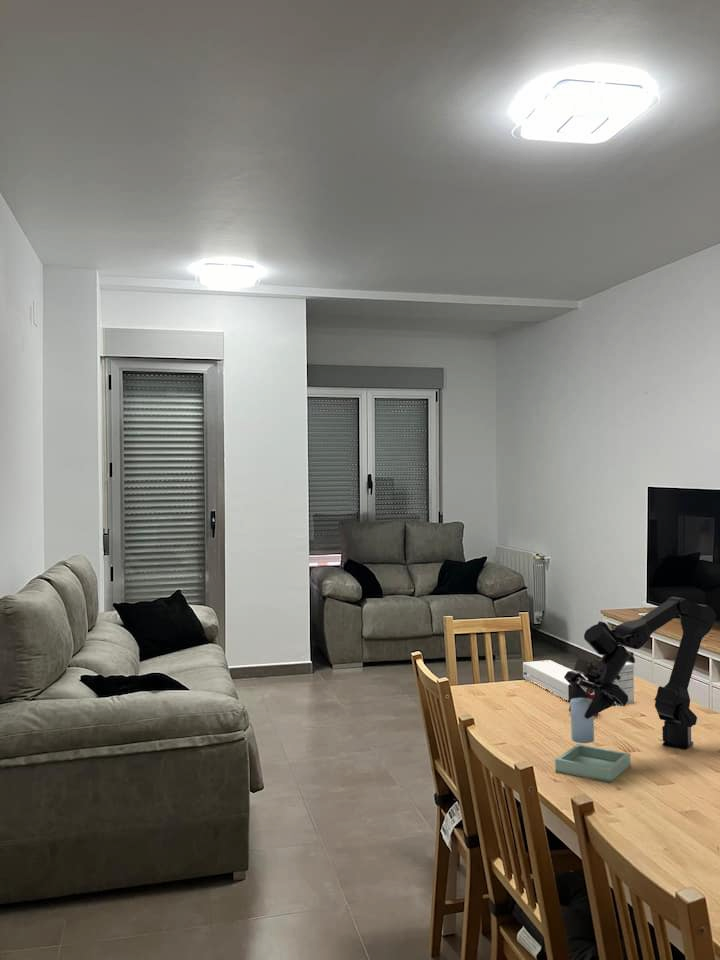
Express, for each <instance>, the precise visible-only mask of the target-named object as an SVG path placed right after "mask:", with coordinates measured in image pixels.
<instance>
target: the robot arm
mask: <svg viewBox="0 0 720 960" xmlns="http://www.w3.org/2000/svg"><path fill="white" fill-rule="evenodd" d="M678 616H679V617H680V625H681V629H682V636H681V639H680V642H679V646H678V649H677V653H676V657H675V660H674V664H673V667H672V669H671V674H670V677H669V681H668V682H667V684H666V685H664V686H661V685H659V687H657V692H656V696H655V697H654V700H653V701H655V702H654V707H655V709H656V712H657V715H658V717H659V720H662V721H663V722H664V723H663V724H664V725H662V727H661V728H662V746H663V747H664V746H665V747H668V748H676V749H681V750H688V749H690V748H691V746H692V745H694V741H692V727H693V726H696V724H697V720H698V716H697V715H696V714H695V713H694V712H693V711H692V710H691V708H690V705H691V704H690V703H691V698H690V694H689V690H688V689H689V686H690V681H691V678H692V675H693V671H694V668H695V664H696V660H697V657H698V653H699V650H700V646H701V643H702V641H703V638H704V637H705V636H707V634H709V632H711V630H712V628H713V626H714V623H715V621H716V616H717V614H716V613H715V610H714V609H713V607H712V606H710V605H707V604H700V603H699V604H698V603H695V602H693V601H690V600H687V599H686V598H683V597H677V596H671V597H668V598H667V599H666V600H665V602H662V603H661V604H659V605H658V606H657V607H655V608H653V610H650V611H649V612H647V613H646V614H644V615H642V616H641V617H640V618H637V619H634V620H627V621H625V622H623V623H620V624H618V625H617V626H616V627H615V628H614V629H610V628H609V625H608V624H607V623H606V622H605V621H598V623H597V624H593V625H591V626H590V627H589V628H587V629H586V630H585V632H584V634H583V635H584V636H583V638H584V640H585V641H586V643H587V644H588V645H589V646H590V647H591V648H592V649H593V650H594V651H595V652H596V654H597V655H599V656H602V657H601V658H600V660H598V659H593V661H589V660H586V659H582V658H578V657H577V658H576V660H575V665H574V667H573V671H568V672H567V673H566V675H565V676H564V678H565V679H566V680H567V681H568V682H569V683H570V684H571V685H572V688H573V694H572V699H573V698H589V697H590V696H589V695H588V694H587V693H586V692H587V691H588V690H589V689H591V690H594V691H595V697H594V699H593V701H592V703H591V704H590V706H589V708H588V710H587V711H586V713H585V718H586V719H588V718H590V717H592V716H594V715H596V714H597V713H598V714H599V713H601V712H603V711H604V710H606V709H609V708H611V707H615V706H621V707H624V708H625V707H626V705H627V704H628V703H627V702H628V695H627V694H626V693H625V692H624V691H623V690H622V689H621V688H620V687H619V686H618V685H616V684H613V682H614V681H615V680H620V678H621V677H620V676H619V675H618V674H619V673H620V671H621V670H622V668H623V667H624V665H625V664H626V662H628V663H632V664H635V663H636V659H635V656H634V654H635V653H634V652H633V651H629V650H627V648H630V649H633V650H640V649H641V648H643V647H644V646H645V645H646V644H647V643H648V642H650V638H651V636H652V634H653V633H654V632H657V630H658V629H660V628H661V627H664V626H665V625H666V624H668V623H670V622H671V621H672V620H674V619H675V618H678ZM574 671H576V672H574ZM577 672H578V673H577ZM580 672H581V673H580ZM582 673H583V674H582ZM581 674H582V675H584V676H585V677H586V678H587V679H588V681H587V680H586V679H585V678H584V677H583V676H582V675H581ZM615 701H616V704H618V705H616V704H615V703H614V702H615ZM568 711H569V712H570V713H571V706H570V705H569V707H568Z"/></svg>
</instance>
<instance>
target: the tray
mask: <svg viewBox="0 0 720 960" xmlns="http://www.w3.org/2000/svg"><path fill="white" fill-rule="evenodd" d="M554 764H555V772H559V773H564V774H567V775H573V776H577V777H581V776H582V778H587V779H591V780H592V779H593V780H594V781H595V780H597V781H600V782H604V783H605V782H606V783H611V782H612V781H614V780H615V779H616V778H617V777H619V776H620V775H621V774H622V773H623V772H625V771H626V770H627V769H628V768H630V767H631V753H628V752H622V751H618V750H610V749H608V748H607V749H606V748H603V747H602V748H601V747H597V746H596V747H595V746H591V745H584V744H582V743H577V744H576V745H574V746H573V747H571V748H569V749H568V750H567V751H565V752H564V753H562V754H561V755H558V757H556V758H555V763H554Z"/></svg>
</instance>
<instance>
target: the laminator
mask: <svg viewBox="0 0 720 960" xmlns="http://www.w3.org/2000/svg"><path fill="white" fill-rule="evenodd" d="M568 671H574V672H577V673H579V671H576V670H574V669H571V668H569V667H566V666H564V665H562V664H559V663H558V662H555V661H553V660H551V659H544V660H534V661H523V662H522V678H523V679H524V680H526V682H527V681H528V680H529V681H532V682H537V684H539V685H541V686H543V687H545V688H547V689H548V690H550V691H552V692H553V693H555V694H557V695H558V696H560V697H562V698H564V699H565V700H567V701H570V700H571V699H572V694H573V688H572V685H571V684H570V683H569V682H568V681H567V680H566V679H565V678H564V676H565V675H566V673H567V672H568ZM580 674H581V675H582V676H584V675H583V674H582V673H580ZM534 679H535V680H534ZM529 681H528V682H529ZM558 696H557V697H558ZM560 697H559V698H560ZM565 700H564V701H565ZM567 701H566V702H567Z"/></svg>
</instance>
